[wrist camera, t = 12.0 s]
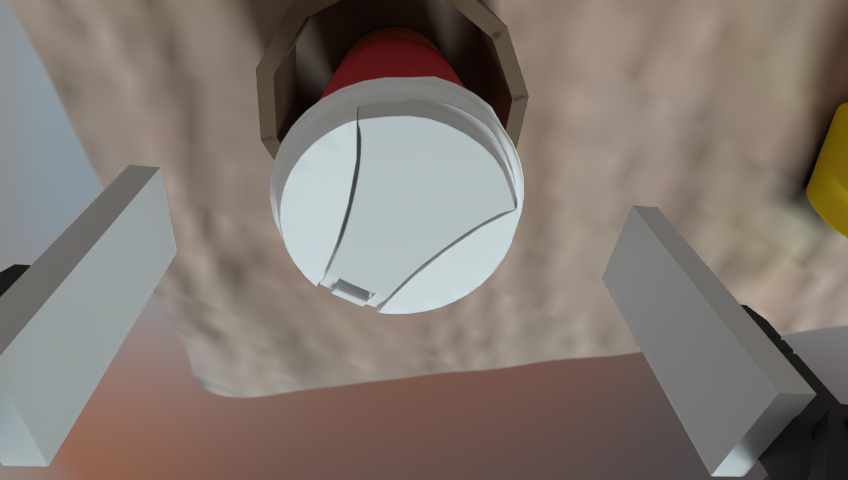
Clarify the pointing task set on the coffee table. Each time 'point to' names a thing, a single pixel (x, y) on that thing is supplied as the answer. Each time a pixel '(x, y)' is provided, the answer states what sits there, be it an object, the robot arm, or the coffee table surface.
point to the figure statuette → (832, 175)
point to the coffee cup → (397, 180)
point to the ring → (280, 57)
